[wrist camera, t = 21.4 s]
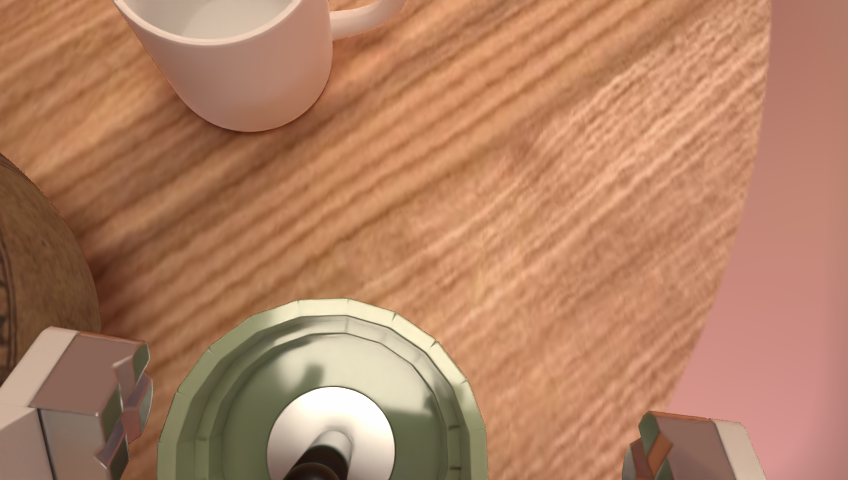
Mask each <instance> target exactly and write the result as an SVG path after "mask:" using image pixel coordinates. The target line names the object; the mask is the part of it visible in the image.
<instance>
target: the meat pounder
mask: <svg viewBox="0 0 848 480" xmlns="http://www.w3.org/2000/svg"><path fill="white" fill-rule="evenodd" d="M395 460H396V441H395V436H394V432H393V429H392V426H391V423H390V421H389V419H388V417H387V415H386V413H385V412H384V411H383V409H382V408H381V406H380V405H379V404H378V403H377V402H376V401H375V400H374V399H372V398H371V397H370V396H368V395H367V394H365V393H364V392H362V391H360V390H357V389H355V388H352V387H348V386H342V385H329V386H322V387H318V388H315V389H312V390H309V391H307V392H305V393H303V394H301V395H299V396H297V397H296V398H295V399H293V400H292V401H291V402H290V403H289V404H287V405H286V406H285V407H284V409H283V410H282V411H281V412H280V413H279V415H278V416H277V418H276V420H275V421H274V423H273V425H272V427H271V430H270V433H269V436H268V440H267V445H266V465H267V470H268V474H269V477H270V480H390V478H391V476H392V473H393V470H394V467H395Z"/></svg>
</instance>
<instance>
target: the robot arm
mask: <svg viewBox="0 0 848 480" xmlns="http://www.w3.org/2000/svg"><path fill="white" fill-rule="evenodd" d="M149 360H150V354H149V347H148V343H146V342H144V341H141V340H135V339H129V338H123V337H116V336H110V335H104V334H98V333H92V332H86V331H76V330H70V329H64V328H58V327H52V326H50V327H48V328H47V329H45V330H43V331H42V332H41V333H40V334H39V335H38V337H37V338H36V339H35V341H34V342H33V344H32V345H31V346H30V348H29V349H28V350H27V352H26V353H25V354H24V356H23V357H22V358H21V360H20V361H19V363H18V364H17V365H16V367H15V368H14V369H13V371H12V372H11V373H10V375H9V376H8V377H7V379H6V380H5V382H4V383H3V384H2V386H1V387H0V480H120V478H121V476H122V474H123V472H124V470H125V468H126V465H127V463H128V461H129V459H130V458H129V450H128V444H129V443H131V442H132V441H134V440H135V439H137V438H138V437H140V436H141V434H142V432H143V429H144V427H145V425H146V423H147V420H148V416H149V413H150V409H151V405H152V398H153V382H152V378H151V377H150V376H149V375H148V373H147V372H146V371H145V368H146V366H147V364H148V362H149ZM639 430H640V434H641V438H639V439H637V440H636V441H634V442H632V443H631V444H630V445H629V447H628V450H627V452H626V455H625V457H624V463H623V470H622V480H767V478H766V476H765V473H764V471H763V469H762V466H761V464H760V462H759V459H758V457H757V455H756V452H755V450H754V448H753V445H752V443H751V441H750V438H749V436H748V434H747V431H746V429H745V427H744V426H743V425H742V424H741V423H739V422H733V421H725V420H718V419H707V418H702V417H695V416H686V415H679V414H671V413H664V412H656V411H648V412H647V413H646V414H645V415H644V416H643V418H642V420H641V422H640V424H639Z"/></svg>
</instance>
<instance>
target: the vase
mask: <svg viewBox="0 0 848 480" xmlns="http://www.w3.org/2000/svg"><path fill="white" fill-rule="evenodd" d="M50 326H52V327H58V328H64V329H70V330H76V331H86V332H92V333H98V334H102V321H101V315H100V308H99V302H98V296H97V291H96V287H95V284H94V280H93V277H92V273H91V271H90V268H89V266H88V263H87V261H86V258H85V256H84V253H83V251H82V249H81V247H80V245H79V243H78V242H77V240H76V238H75V236H74V234H73V232H72V230H71V229H70V228H69V226H68V225H67V223H66V222H65V221H64V219H63V218H62V216H61V215H60V214H59V212H58V211H57V209H56V208H55V207H54V206H53V205H52V203H51V202H50V201H49V200H48V199H47V197H46V196H45V195H44V194H43V193H42V192H41V191H40V190H39V189H38V188H37V187H36V186H35V184H34V183H33V182H32V181H31V180H30V179H29V178H28V177H27V176H26V175H25V174H24V173H22V172H21V171H20V170H19V169H18V168H17V167H16V166H15V165H14V164H13V163H12V162H10V161H9V160H8V159H7V158H6V157H5V156H3V155H2V154H1V153H0V387H1V386H2V384H3V383H4V382H5V380H6V379H7V377H8V376H9V375H10V373H11V372H12V371H13V369H14V368H15V367H16V365H17V364H18V363H19V361H20V360H21V358H22V357H23V356H24V354H25V353H26V352H27V350H28V349H29V348H30V346H31V345H32V344H33V342H34V341H35V339H36V338H37V337H38V335H39V334H40V333H41V332H42V331H43V330H45V329H47V328H48V327H50Z"/></svg>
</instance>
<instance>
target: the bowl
mask: <svg viewBox="0 0 848 480" xmlns="http://www.w3.org/2000/svg"><path fill="white" fill-rule="evenodd" d="M329 385H342V386H348V387H352V388H355V389H357V390H360V391H362V392H364V393H365V394H367V395H368V396H370V397H371V398H372V399H374V400H375V401H376V402H377V403H378V404H379V405H380V406H381V408H382V409H383V411H384V412H385V413H386V415H387V417H388V419H389V421H390V423H391V426H392V429H393V432H394V436H395V441H396V460H395V467H394V470H393V473H392V476H391V478H390V480H488V459H487V439H486V429H485V428H486V427H485V424H484V421H483V419H482V416H481V413H480V410H479V408H478V405H477V402H476V400H475V397H474V394H473V391H472V389H471V386H470V383H469V381H468V380H467V378H466V376H465V375H464V374H463V373H462V371H461V370H460V369H459V367H458V366H457V365H456V364H455V362H454V361H453V360H452V358H451V357H450V356H449V355H448V353H447V352H446V351H445V349H444V348H443V347H442V346H441V344H440V343H439V342H438V341H436V339H435V338H434V337H432V336H431V335H429V334H428V333H426V332H425V331H423V330H422V329H420V328H419V327H417V326H416V325H415V324H413V323H412V322H410V321H409V320H407V319H406V318H404V317H403V316H401V315H400V314H398V313H396V312H395V311H391V310H388V309H385V308H381V307H378V306H374V305H371V304H367V303H364V302H361V301H357V300H354V299H350V298H349V299H348V298H328V299H299V300H295V301H292V302H289V303H286V304H283V305H281V306H278V307H275V308H272V309H269V310H266V311H263V312H261V313H258V314H255V315H252V316H250V317H249V318H247V319H246V320H244V321H243V322H242V323H240V324H239V325H237V326H236V327H235V328H233V329H232V330H231V331H229V332H228V333H227V334H225V335H224V336H223V337H221V338H220V339H219V340H217V341H216V342H215V343H213V344H212V345H211V346H209V349H206V351H205V352H204V353H203V355H202V356H201V357H200V359H199V360H198V361H197V363H196V364H195V366H194V367H193V368H192V370H191V371H190V372H189V374H188V375H187V377H186V378H185V379H184V381H183V382H182V383H181V385H180V386H179V387H178V389H177V392H176V393H175V395H174V398H173V401H172V403H171V406H170V409H169V412H168V415H167V418H166V421H165V424H164V427H163V429H162V432H161V435H160V438H159V443H158V449H157V480H270V477H269V474H268V470H267V465H266V445H267V440H268V436H269V433H270V430H271V427H272V425H273V423H274V421H275V420H276V418H277V416H278V415H279V413H280V412H281V411H282V410H283V409H284V407H285V406H286V405H287V404H289V403H290V402H291V401H292V400H293V399H295V398H296V397H297V396H299V395H301V394H303V393H305V392H307V391H309V390H312V389H315V388H318V387H322V386H329Z"/></svg>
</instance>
